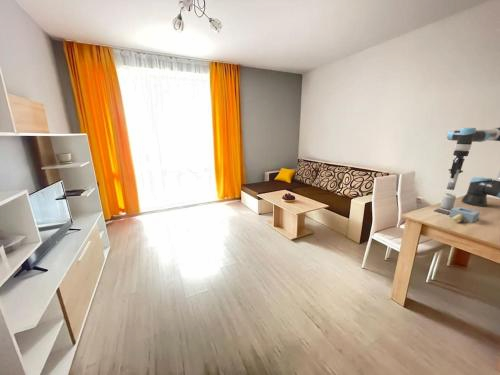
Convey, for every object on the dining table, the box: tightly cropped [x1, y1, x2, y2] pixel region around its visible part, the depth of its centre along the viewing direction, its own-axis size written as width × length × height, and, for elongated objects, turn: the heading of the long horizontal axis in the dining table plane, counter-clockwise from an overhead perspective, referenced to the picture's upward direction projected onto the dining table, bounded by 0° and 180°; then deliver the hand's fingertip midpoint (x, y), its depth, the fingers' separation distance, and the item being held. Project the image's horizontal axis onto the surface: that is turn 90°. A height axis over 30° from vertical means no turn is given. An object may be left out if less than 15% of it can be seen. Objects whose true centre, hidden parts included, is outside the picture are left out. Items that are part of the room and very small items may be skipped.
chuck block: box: [448, 205, 481, 224], centre depth 145 cm, size 22×12×6 cm, turn 119°
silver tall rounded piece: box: [446, 168, 464, 191], centre depth 151 cm, size 4×8×15 cm, turn 30°
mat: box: [433, 208, 450, 216], centre depth 158 cm, size 8×8×1 cm
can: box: [439, 192, 457, 211], centre depth 164 cm, size 8×8×12 cm
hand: (452, 181), depth 151 cm, fingers closed on silver tall rounded piece, 4 cm apart
